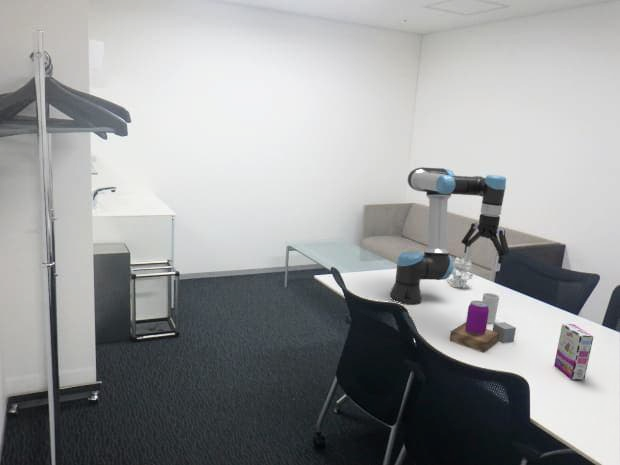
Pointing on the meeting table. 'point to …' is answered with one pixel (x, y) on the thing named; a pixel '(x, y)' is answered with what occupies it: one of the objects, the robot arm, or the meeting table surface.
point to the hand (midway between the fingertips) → (481, 266)
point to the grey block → (504, 332)
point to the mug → (491, 305)
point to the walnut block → (474, 338)
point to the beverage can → (477, 317)
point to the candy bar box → (573, 351)
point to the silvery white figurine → (460, 273)
